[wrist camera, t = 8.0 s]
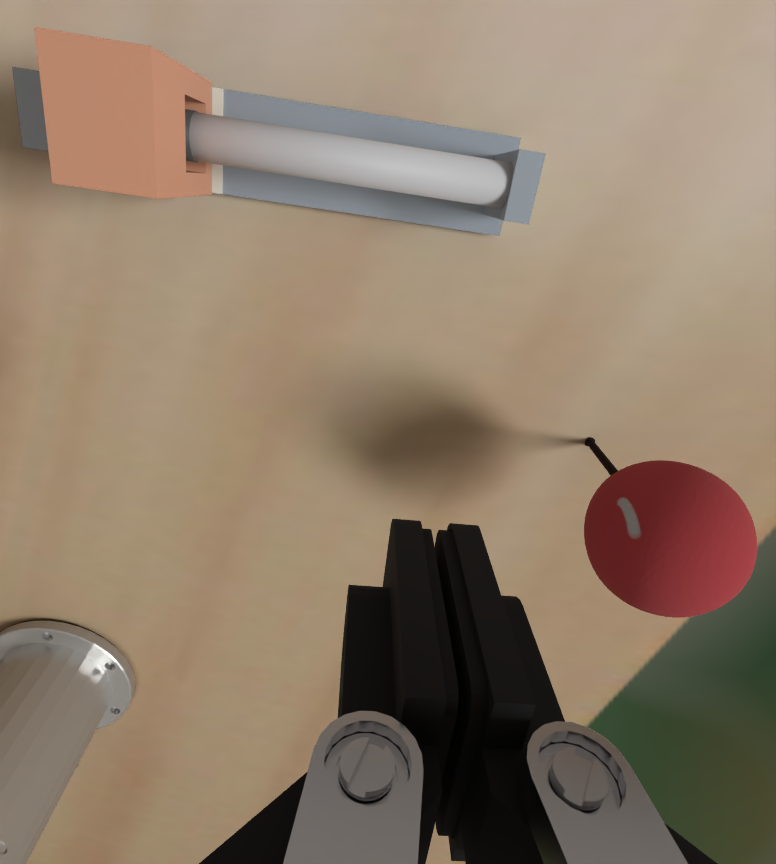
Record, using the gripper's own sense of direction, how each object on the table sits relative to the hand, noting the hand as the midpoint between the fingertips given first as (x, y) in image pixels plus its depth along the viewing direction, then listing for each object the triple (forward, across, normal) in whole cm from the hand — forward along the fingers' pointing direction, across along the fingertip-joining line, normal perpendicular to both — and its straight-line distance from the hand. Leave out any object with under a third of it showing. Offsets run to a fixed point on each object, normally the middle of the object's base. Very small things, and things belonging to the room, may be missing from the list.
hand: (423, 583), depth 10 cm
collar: (+22, +12, -8) cm, 27 cm away
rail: (+25, +6, -8) cm, 27 cm away
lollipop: (+25, -15, +7) cm, 30 cm away
